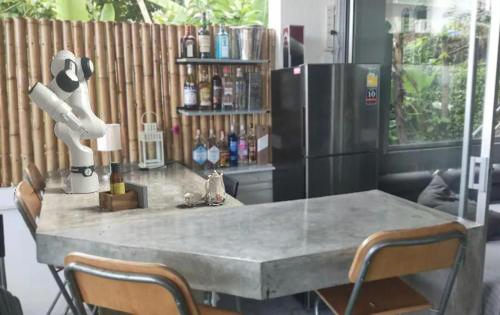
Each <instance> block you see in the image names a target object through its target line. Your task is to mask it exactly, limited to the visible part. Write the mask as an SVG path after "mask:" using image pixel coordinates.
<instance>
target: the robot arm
mask: <svg viewBox="0 0 500 315" xmlns="http://www.w3.org/2000/svg"><path fill="white" fill-rule="evenodd" d="M48 68H49V73H50V76H51V77H52V80H51V81H50V82H49V84H46V85H45V84H43V83H41V82H39V81H38V82H35V83H34V84H33V85H32V87H30V89H29V91H28V92H27V96H28V98H29V99H30V100H31V101H32V102H33V103H34V105H36V106H37V107H38V108H39V109H41V110H42V111H44V112H46V114H47V115H48V116H49V117H50V118H51V119H52V120H54V121H55V122H56V123H55V125H54V128H53V129H54V130H53V131H54V134H55V136H56V137H57V138H58V139H59V140H60V141H62V142H63V143H64V144H65V145H66V146H67V148H68V150H69V153H70V157H71V165H70V174H69V175H68V177H66V178H65V180H64V185H65V186H63V187H61V190H62V189H63V190H64V191H65V192H64V191H63V190H62V191H63V192H64V193H65V194H67V193H68V194H69V195H72V194H87V193H88V194H89V193H93V192H94V193H95V192H98V191H99V190H101V189H102V187H101V186H100V183H99V176H98V174H97V173H96V165H95V164H94V163H95V162H94V160H95V159H94V151H93V149H92V148H91V147H89V146H86V145H84V144H82V143H81V140H96V139H101V138H103V137H104V136H105V135H106V133H107V126H106V125H107V124H106V123H105V122H104V121H103V120H102V119H100V118H99V117H98V116H96V115H95V114H94V112H93V110H92V108H91V102H90V93H89V88H88V84H87V81H89V80H90V78H91V77H92V76H93V73H94V63H93V61H92V60H91V58H90V57H87V56H81V57H80V56H79V57H76V56H75V55H74V53H73V52H72V51H70V50H67V49H62V50H60V51H58V52H57V53H56V54H55V55H54V57H53V59H52V61H51V62H50V64H49V67H48ZM66 100H67V103H66V102H65V101H66ZM77 116H78V117H79V118H78V117H77ZM71 193H72V194H71Z"/></svg>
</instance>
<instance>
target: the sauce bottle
mask: <svg viewBox="0 0 500 315" xmlns="http://www.w3.org/2000/svg"><path fill="white" fill-rule="evenodd" d="M120 165H121V163H120V161H111V162H110V167H111V168H110V169H111V174H110V176H109V188H110V190H111V195H119V194H124V193H125V188H124V181H125V180H124V177H123V173H122V172H121V166H120ZM110 190H109V191H110Z"/></svg>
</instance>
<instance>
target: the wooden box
mask: <svg viewBox="0 0 500 315" xmlns="http://www.w3.org/2000/svg"><path fill="white" fill-rule="evenodd" d="M98 207H99V208H100V209H104V210H106V211H108V212H112V213H115V212H120V211H121V212H122V211H125V210H129V209H130V210H131V209H135V208H138V196H137V192H136V191H132V190H128V189H125V193H124V194H119V195H111V190H105V191H99V192H98Z"/></svg>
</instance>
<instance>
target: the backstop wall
mask: <svg viewBox="0 0 500 315" xmlns="http://www.w3.org/2000/svg"><path fill="white" fill-rule="evenodd" d="M124 188H125V189H128V190H132V191H136V192H137V196H138V207H139V208H141V209H149V198H148V196H149V195H148V186H147V185H143V184H139V183H137V182H131V181H127V180H124ZM138 207H137V208H138Z"/></svg>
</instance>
